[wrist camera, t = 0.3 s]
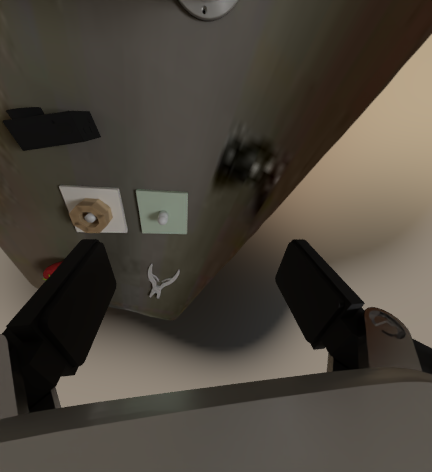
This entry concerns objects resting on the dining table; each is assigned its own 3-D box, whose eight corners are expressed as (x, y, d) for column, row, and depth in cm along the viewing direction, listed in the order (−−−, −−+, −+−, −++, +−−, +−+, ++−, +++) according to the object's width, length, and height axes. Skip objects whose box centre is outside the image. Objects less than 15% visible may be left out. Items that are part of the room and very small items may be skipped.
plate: (136, 189, 42) (131, 197, 38) (187, 192, 44) (187, 200, 40) (143, 231, 49) (138, 242, 45) (187, 232, 51) (186, 242, 46)
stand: (61, 184, 39) (48, 192, 36) (118, 188, 41) (112, 195, 38) (79, 229, 46) (69, 239, 42) (127, 230, 48) (122, 240, 44)
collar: (75, 197, 40) (65, 205, 37) (108, 199, 42) (101, 206, 38) (84, 223, 44) (76, 232, 41) (114, 224, 45) (108, 233, 42)
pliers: (180, 272, 58) (167, 300, 65) (180, 269, 59) (167, 296, 67) (149, 266, 55) (139, 295, 62) (150, 262, 56) (140, 291, 63)
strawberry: (86, 270, 54) (68, 298, 46) (57, 264, 52) (32, 293, 44) (87, 256, 51) (68, 283, 43) (56, 250, 49) (30, 277, 41)
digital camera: (86, 103, 32) (64, 101, 27) (101, 136, 35) (84, 141, 30) (29, 111, 32) (-6, 111, 26) (49, 144, 35) (22, 151, 29)
